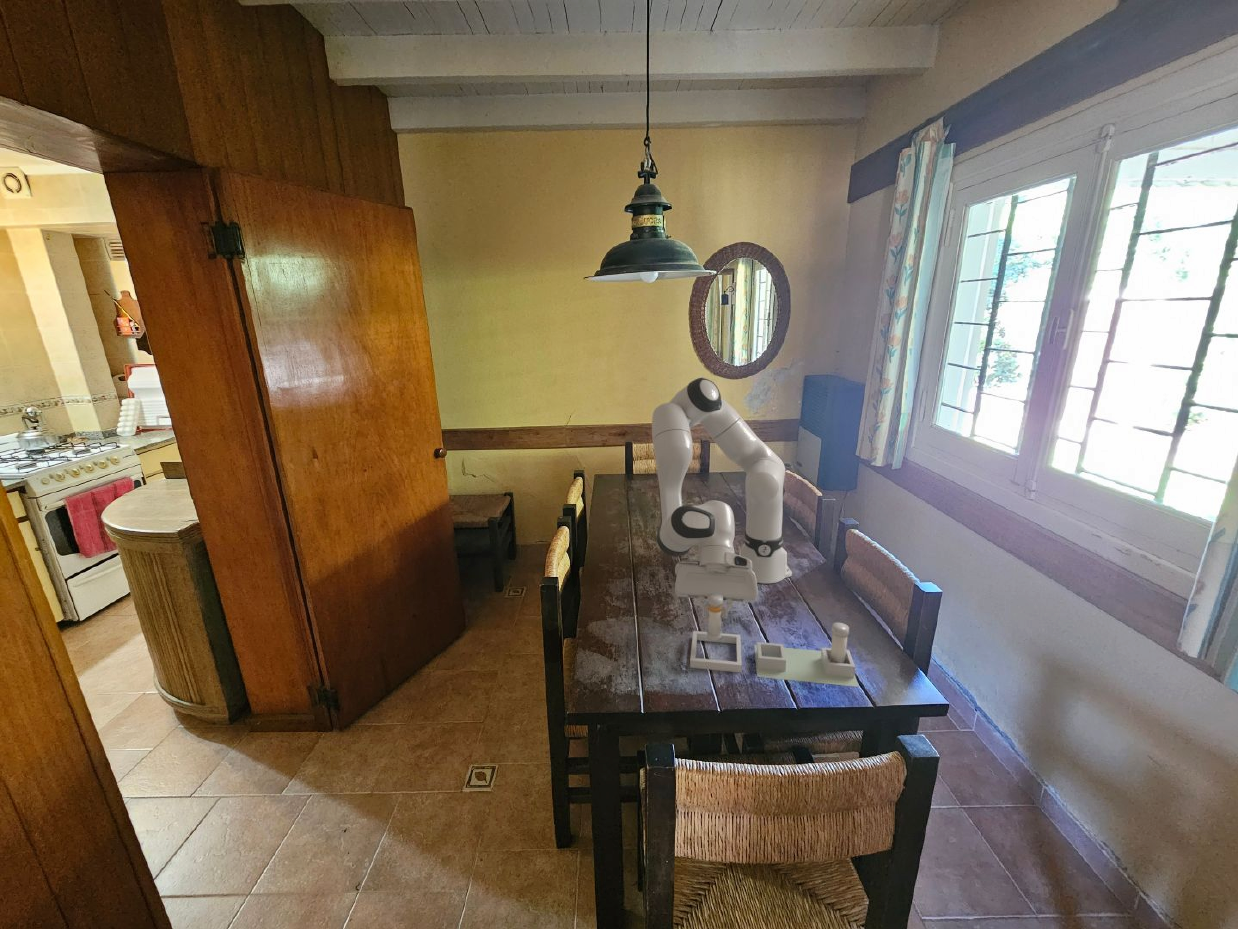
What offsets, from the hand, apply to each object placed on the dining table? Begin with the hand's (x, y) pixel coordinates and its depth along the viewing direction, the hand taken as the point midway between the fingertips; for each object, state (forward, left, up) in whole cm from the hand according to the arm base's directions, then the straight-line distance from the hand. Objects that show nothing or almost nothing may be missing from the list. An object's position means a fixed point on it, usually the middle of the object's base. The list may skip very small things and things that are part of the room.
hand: (714, 617), depth 122 cm
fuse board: (0, +21, -12) cm, 24 cm away
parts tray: (-1, 0, -12) cm, 12 cm away
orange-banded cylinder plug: (-1, 0, -6) cm, 6 cm away
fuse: (0, +28, -11) cm, 30 cm away
